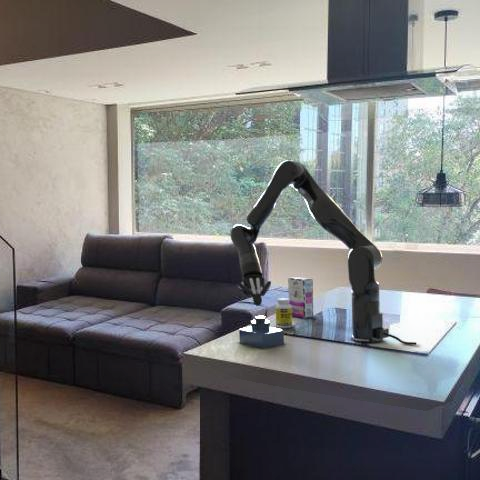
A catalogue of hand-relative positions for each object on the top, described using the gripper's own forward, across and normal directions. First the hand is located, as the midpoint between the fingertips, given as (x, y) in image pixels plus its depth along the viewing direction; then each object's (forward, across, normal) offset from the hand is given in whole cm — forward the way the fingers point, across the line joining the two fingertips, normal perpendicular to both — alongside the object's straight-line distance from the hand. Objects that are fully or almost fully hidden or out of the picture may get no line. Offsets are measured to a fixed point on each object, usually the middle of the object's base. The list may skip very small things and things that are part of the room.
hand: (258, 304), depth 215 cm
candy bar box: (-17, +26, +35) cm, 47 cm away
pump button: (+6, 0, +2) cm, 7 cm away
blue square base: (+14, -1, +4) cm, 14 cm away
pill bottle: (-4, +14, +22) cm, 26 cm away
